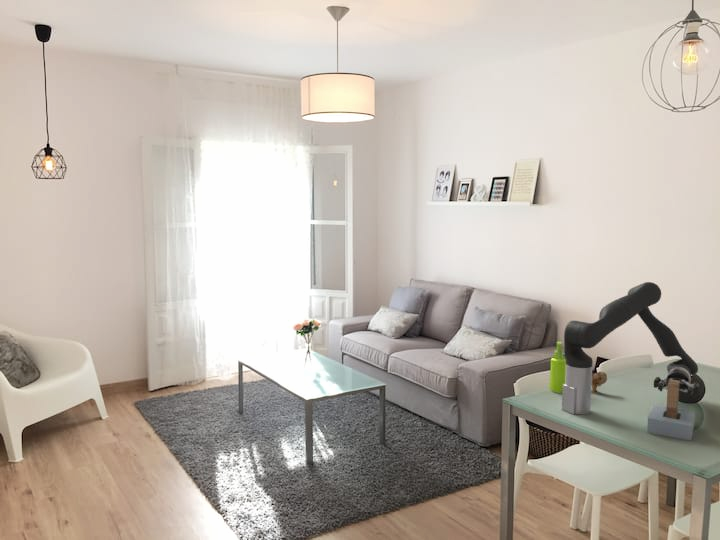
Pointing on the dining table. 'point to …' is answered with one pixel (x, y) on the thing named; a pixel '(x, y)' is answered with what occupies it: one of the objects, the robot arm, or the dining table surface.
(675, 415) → the slat
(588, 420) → the dining table surface
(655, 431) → the grey slotted block
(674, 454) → the dining table surface
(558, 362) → the green bottle
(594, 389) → the lion figurine
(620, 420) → the dining table surface
